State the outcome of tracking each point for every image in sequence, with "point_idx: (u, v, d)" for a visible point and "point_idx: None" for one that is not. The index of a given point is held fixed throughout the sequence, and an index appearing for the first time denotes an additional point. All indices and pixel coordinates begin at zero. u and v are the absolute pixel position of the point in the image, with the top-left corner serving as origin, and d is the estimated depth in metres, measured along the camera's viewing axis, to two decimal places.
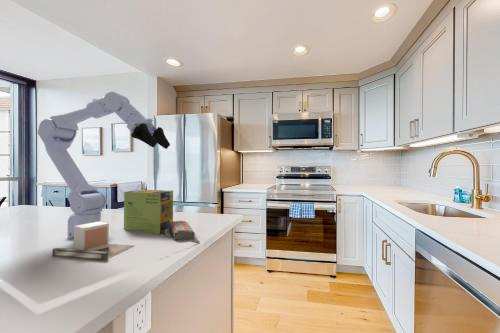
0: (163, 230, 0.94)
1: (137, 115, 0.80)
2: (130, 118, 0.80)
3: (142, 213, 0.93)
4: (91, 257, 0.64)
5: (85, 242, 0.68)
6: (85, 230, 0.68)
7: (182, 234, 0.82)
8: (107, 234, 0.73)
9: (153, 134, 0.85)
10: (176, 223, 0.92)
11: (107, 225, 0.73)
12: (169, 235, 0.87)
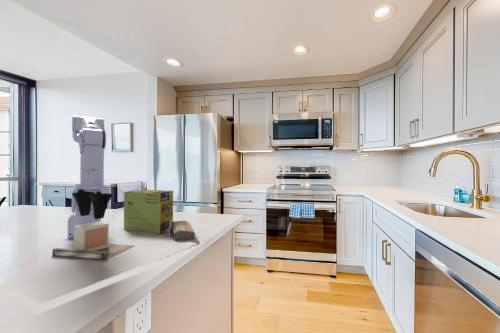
0: (163, 230, 0.94)
1: None
2: None
3: (142, 213, 0.93)
4: (91, 257, 0.64)
5: (85, 242, 0.68)
6: (85, 230, 0.68)
7: (182, 234, 0.82)
8: (107, 234, 0.73)
9: None
10: (177, 223, 0.92)
11: (107, 225, 0.73)
12: (170, 235, 0.87)
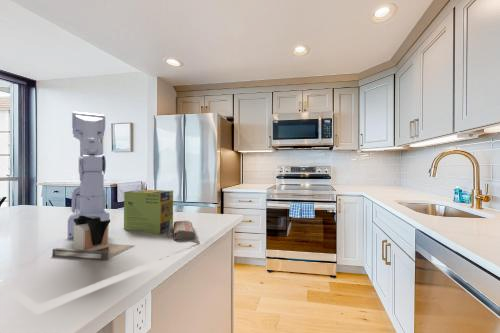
0: (163, 230, 0.94)
1: None
2: None
3: (142, 213, 0.93)
4: (91, 257, 0.64)
5: (85, 242, 0.68)
6: (85, 230, 0.68)
7: (182, 234, 0.81)
8: (107, 234, 0.73)
9: None
10: (179, 223, 0.92)
11: None
12: (171, 235, 0.87)
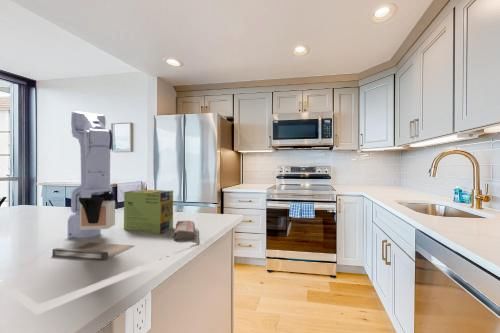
0: (163, 230, 0.94)
1: None
2: None
3: (142, 213, 0.93)
4: (91, 257, 0.64)
5: (82, 218, 0.66)
6: (82, 206, 0.66)
7: (182, 234, 0.81)
8: (106, 215, 0.67)
9: None
10: (182, 223, 0.92)
11: (106, 205, 0.67)
12: (173, 234, 0.88)
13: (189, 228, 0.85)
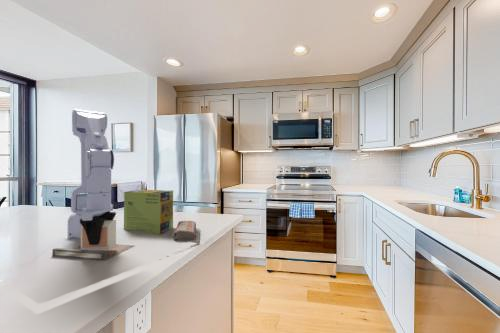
0: (163, 230, 0.94)
1: None
2: None
3: (142, 213, 0.93)
4: (91, 257, 0.64)
5: (83, 240, 0.66)
6: None
7: (182, 234, 0.81)
8: (107, 236, 0.67)
9: None
10: (183, 223, 0.93)
11: (107, 226, 0.67)
12: (174, 234, 0.88)
13: (189, 228, 0.85)
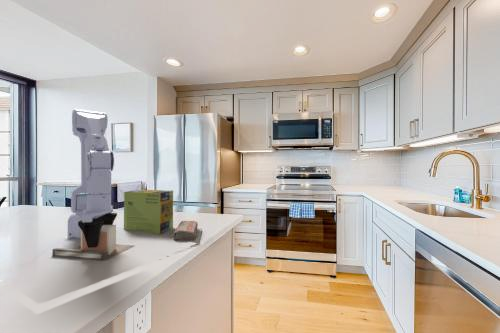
0: (163, 230, 0.94)
1: None
2: None
3: (142, 213, 0.93)
4: (91, 257, 0.64)
5: (83, 245, 0.66)
6: None
7: (182, 234, 0.81)
8: (107, 241, 0.67)
9: None
10: (184, 223, 0.93)
11: (107, 231, 0.67)
12: None
13: (190, 228, 0.85)
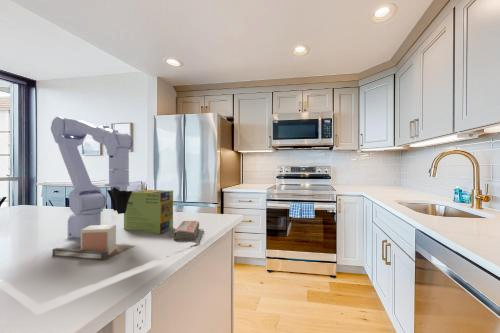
0: (163, 230, 0.94)
1: None
2: None
3: (142, 213, 0.93)
4: (91, 257, 0.64)
5: (83, 245, 0.66)
6: (83, 232, 0.66)
7: (182, 234, 0.81)
8: (107, 241, 0.67)
9: None
10: (186, 223, 0.93)
11: (107, 231, 0.67)
12: None
13: (190, 228, 0.85)
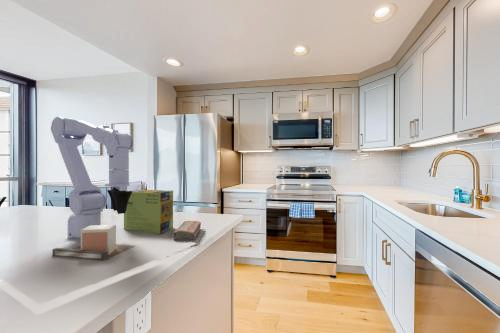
0: (163, 230, 0.94)
1: None
2: None
3: (142, 213, 0.93)
4: (91, 257, 0.64)
5: (83, 245, 0.66)
6: (83, 232, 0.66)
7: (182, 234, 0.81)
8: (107, 241, 0.67)
9: None
10: (187, 223, 0.93)
11: (107, 231, 0.67)
12: None
13: (190, 228, 0.85)
